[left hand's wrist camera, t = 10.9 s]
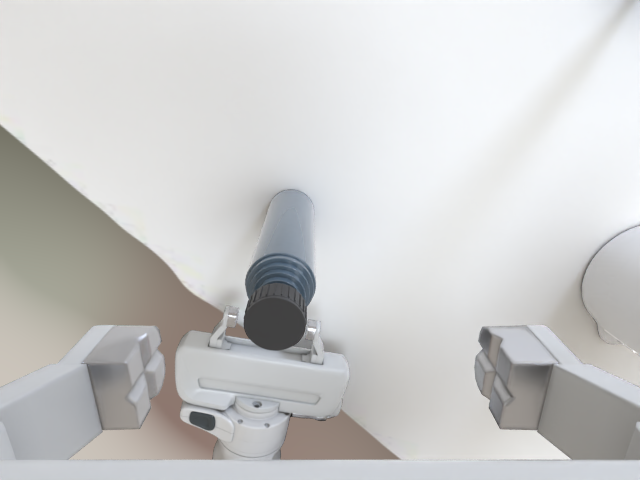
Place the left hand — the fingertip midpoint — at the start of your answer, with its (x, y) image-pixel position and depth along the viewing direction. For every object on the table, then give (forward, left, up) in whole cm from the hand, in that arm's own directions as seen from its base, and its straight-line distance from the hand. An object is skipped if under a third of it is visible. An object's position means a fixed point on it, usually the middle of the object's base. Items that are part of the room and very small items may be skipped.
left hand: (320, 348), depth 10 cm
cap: (-3, -8, -13) cm, 16 cm away
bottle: (-3, -8, -37) cm, 37 cm away
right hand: (-5, -19, -32) cm, 37 cm away
